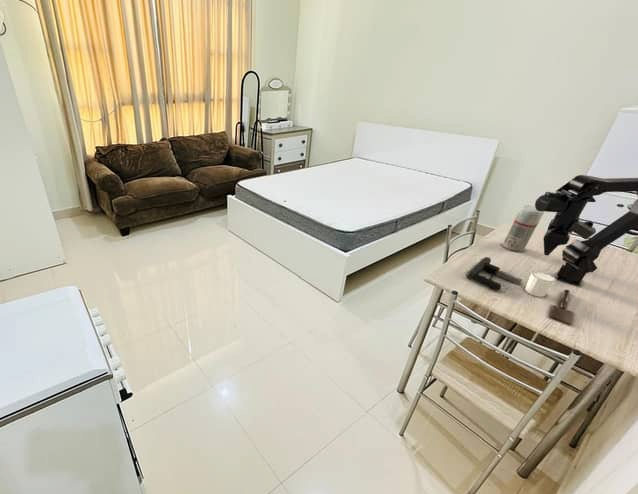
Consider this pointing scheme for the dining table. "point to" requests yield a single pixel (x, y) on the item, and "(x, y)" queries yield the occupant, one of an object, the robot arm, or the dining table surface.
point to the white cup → (539, 283)
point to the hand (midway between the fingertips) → (547, 250)
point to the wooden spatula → (562, 310)
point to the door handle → (490, 269)
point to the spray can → (522, 228)
